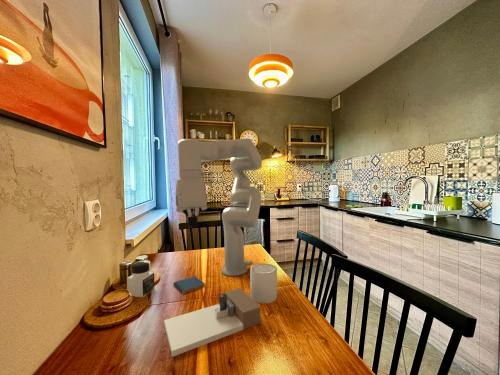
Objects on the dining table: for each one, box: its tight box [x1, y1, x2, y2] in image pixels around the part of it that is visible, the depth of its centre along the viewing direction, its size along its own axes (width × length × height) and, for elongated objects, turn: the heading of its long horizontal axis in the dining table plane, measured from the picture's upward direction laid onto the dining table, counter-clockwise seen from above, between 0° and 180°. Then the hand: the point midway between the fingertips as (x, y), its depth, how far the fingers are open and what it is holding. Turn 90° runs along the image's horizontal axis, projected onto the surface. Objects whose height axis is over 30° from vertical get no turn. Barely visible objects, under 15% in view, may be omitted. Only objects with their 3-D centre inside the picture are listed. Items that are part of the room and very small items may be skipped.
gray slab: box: [163, 287, 261, 358], centre depth 66 cm, size 26×14×5 cm, turn 119°
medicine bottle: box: [126, 260, 156, 298], centre depth 86 cm, size 7×7×12 cm
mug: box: [249, 263, 278, 304], centre depth 84 cm, size 14×10×11 cm
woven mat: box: [172, 275, 206, 295], centre depth 92 cm, size 10×11×2 cm
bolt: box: [214, 293, 235, 319], centre depth 70 cm, size 12×2×6 cm, turn 119°
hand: (192, 227), depth 77 cm, fingers closed
